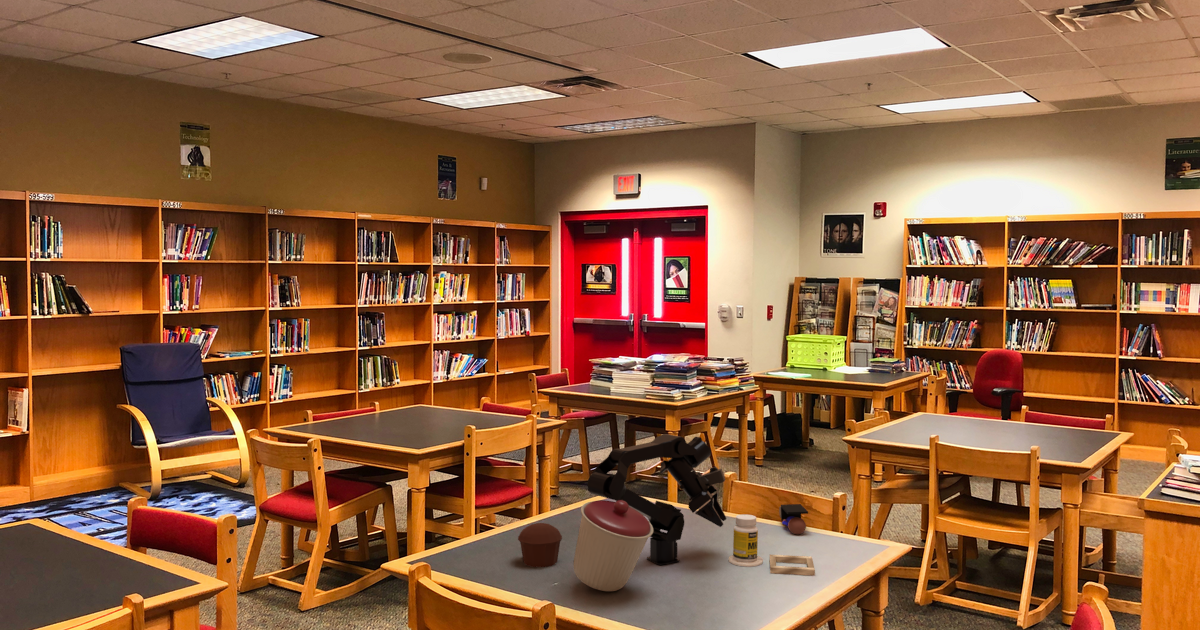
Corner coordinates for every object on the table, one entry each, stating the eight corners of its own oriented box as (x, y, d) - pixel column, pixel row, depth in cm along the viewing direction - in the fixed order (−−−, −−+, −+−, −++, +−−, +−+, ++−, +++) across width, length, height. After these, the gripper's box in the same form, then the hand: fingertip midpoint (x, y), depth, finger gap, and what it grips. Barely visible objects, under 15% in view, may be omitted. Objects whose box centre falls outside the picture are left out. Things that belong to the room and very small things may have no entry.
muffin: (556, 554, 247) (556, 517, 246) (567, 566, 236) (567, 528, 236) (513, 558, 243) (513, 521, 243) (522, 570, 233) (522, 532, 232)
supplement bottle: (750, 564, 236) (750, 521, 236) (728, 559, 240) (729, 517, 240) (761, 558, 241) (762, 516, 241) (740, 553, 245) (741, 512, 245)
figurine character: (777, 527, 280) (787, 535, 264) (776, 502, 280) (786, 509, 265) (799, 527, 280) (810, 535, 264) (798, 502, 280) (810, 509, 265)
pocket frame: (770, 573, 231) (770, 567, 231) (769, 560, 242) (769, 554, 242) (814, 575, 229) (814, 569, 229) (811, 562, 240) (811, 556, 240)
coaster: (743, 568, 235) (743, 566, 235) (721, 559, 242) (721, 557, 242) (770, 563, 239) (770, 561, 239) (748, 554, 247) (748, 552, 247)
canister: (589, 554, 232) (613, 479, 228) (647, 589, 223) (672, 511, 219) (547, 570, 217) (572, 490, 213) (607, 608, 208) (633, 525, 204)
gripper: (705, 460, 233) (744, 509, 230) (712, 454, 251) (749, 499, 248) (672, 487, 235) (711, 536, 232) (681, 479, 253) (718, 524, 250)
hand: (723, 522), depth 240 cm, fingers open, 9 cm apart
